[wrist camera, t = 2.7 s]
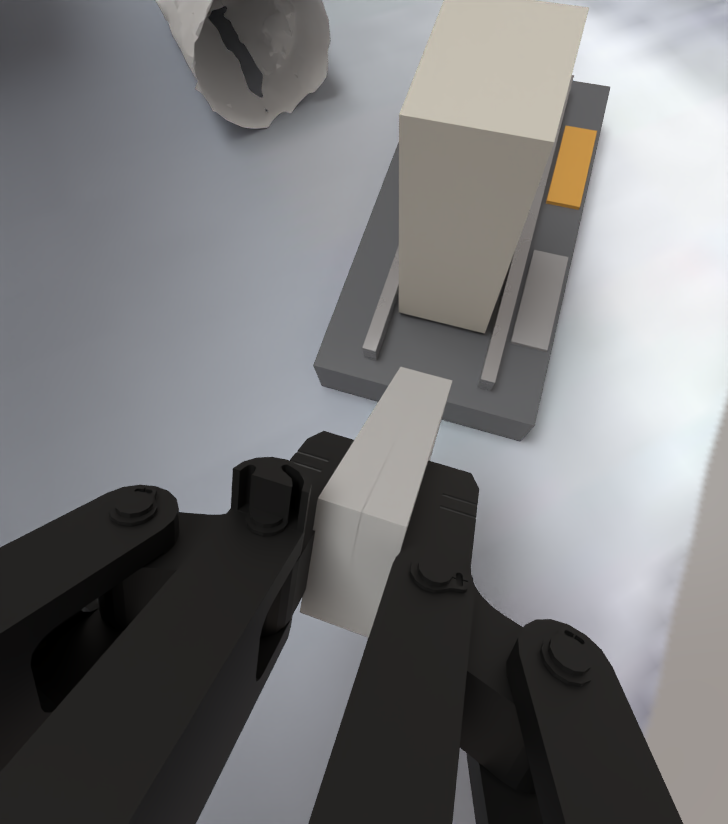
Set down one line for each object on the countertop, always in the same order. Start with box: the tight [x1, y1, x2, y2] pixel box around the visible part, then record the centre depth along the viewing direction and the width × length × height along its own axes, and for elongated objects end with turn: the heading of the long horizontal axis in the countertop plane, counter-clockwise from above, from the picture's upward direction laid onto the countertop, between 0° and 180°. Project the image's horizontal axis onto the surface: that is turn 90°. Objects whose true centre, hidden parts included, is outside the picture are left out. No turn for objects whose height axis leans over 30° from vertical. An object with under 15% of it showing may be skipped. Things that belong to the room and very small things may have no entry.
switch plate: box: [313, 75, 610, 441], centre depth 24 cm, size 20×10×4 cm, turn 162°
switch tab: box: [399, 0, 589, 333], centre depth 18 cm, size 5×4×10 cm
